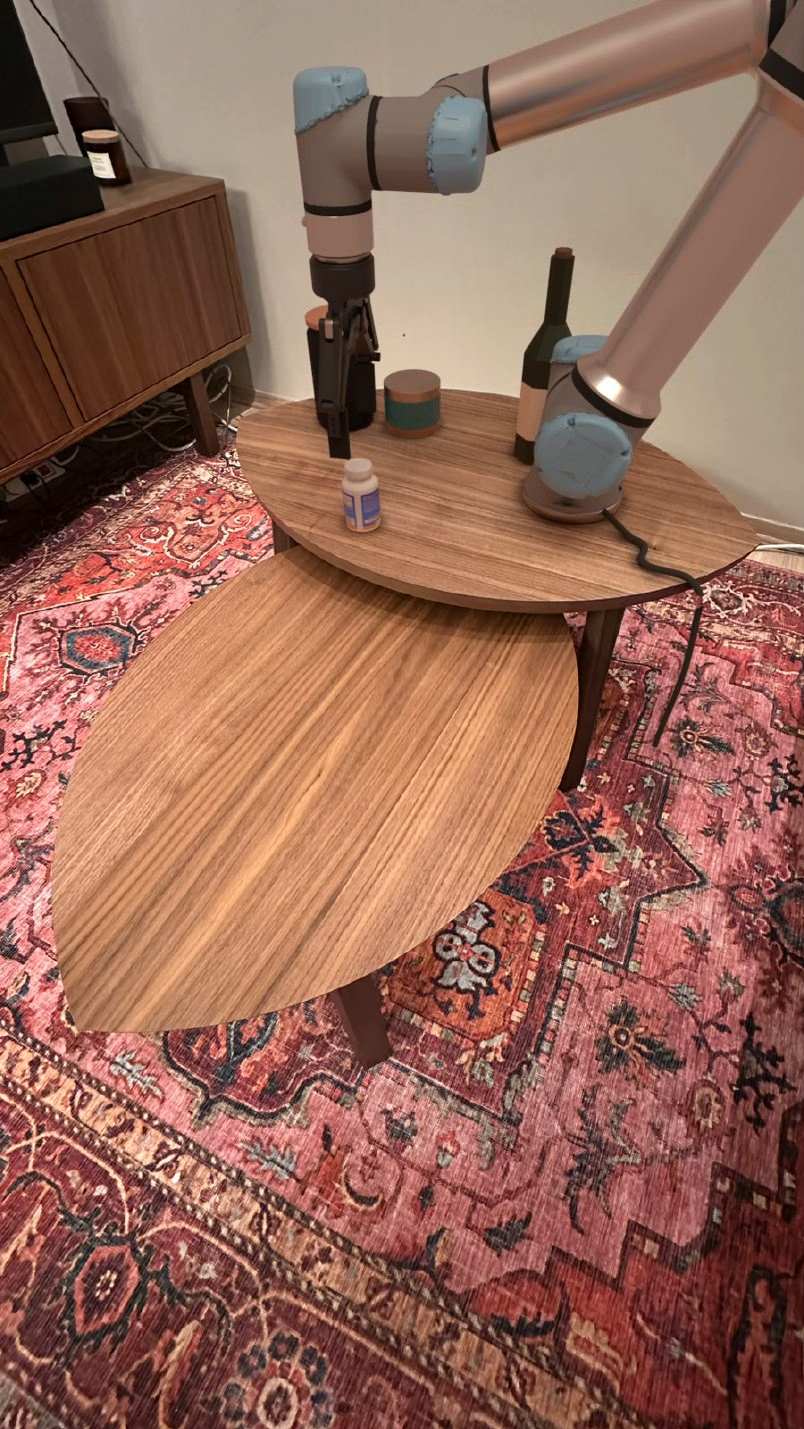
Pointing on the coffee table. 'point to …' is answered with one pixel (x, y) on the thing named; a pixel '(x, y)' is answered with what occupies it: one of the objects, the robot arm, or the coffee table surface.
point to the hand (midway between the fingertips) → (354, 433)
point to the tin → (412, 403)
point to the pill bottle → (361, 496)
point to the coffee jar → (312, 319)
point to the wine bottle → (543, 354)
